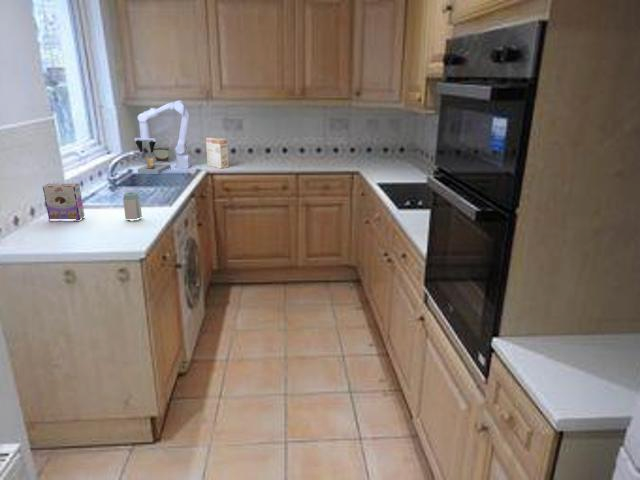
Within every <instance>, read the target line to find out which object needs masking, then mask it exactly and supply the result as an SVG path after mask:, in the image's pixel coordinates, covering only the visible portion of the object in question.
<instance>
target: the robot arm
mask: <svg viewBox="0 0 640 480" xmlns="http://www.w3.org/2000/svg"><path fill="white" fill-rule="evenodd" d="M167 110H173V111H176V112H177V113H179V115H181V122H180V126H179V127H180V129H179V135H178V141H177V144H176V147H175V148H174V151H175V159H176V166H174V168H175V169H176V168H177V169H190V168H191V167H193V165H192V155H191V154H188V153H187V135H188V129H189V124H190V123H189V122H190V115H191V113H190V112H189V109H188V106H187V104H186V103H185V102H184V101H183V100H181V99H179V100H176V101H172V102H168V103H166V104H164V105H162V106H161V107H158V108H156V107H151V108H149V109H148V110H146V111H145V110H144V111H143V112H141V113H139V114H137V120H138V123H139V124H138V125H139V134H140V137H135V138H134V137H133V138H134V141H135V145H137V147H138V149H139V152H140V153H143V151H144V150H143V143H144V142H148V144H149V149H150V153H154V151H153V149H154V147H155V145H156V143H157V138H151V136H150V127H149V121H150V120H152V119H155V118H157V117H159V114H161V113H163V112H166V111H167Z"/></svg>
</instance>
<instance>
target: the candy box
mask: <svg viewBox="0 0 640 480" xmlns="http://www.w3.org/2000/svg"><path fill="white" fill-rule="evenodd" d="M80 187H81V186H80V183H79V182H78V183H47V184H45V185H43V186H42V191H43V196H44V200H45V206H46V210H47V216H48V217H47V218H48V220H49V219H76V220H80V219H81V218H83V217H84V216H85V209H84V204H83V199H82V192H81V188H80Z"/></svg>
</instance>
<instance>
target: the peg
mask: <svg viewBox="0 0 640 480" xmlns="http://www.w3.org/2000/svg"><path fill="white" fill-rule="evenodd" d="M154 164H155V163H154V157H147V158H146V166H147V165H148V169H154Z"/></svg>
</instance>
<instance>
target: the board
mask: <svg viewBox="0 0 640 480" xmlns="http://www.w3.org/2000/svg"><path fill="white" fill-rule="evenodd" d="M169 168H170V169H171V164H162V163H159V164H158V163H154V169H148V165H147V164H146V165H144V166H142V167H140V168H137V173H138V174H155V175H159V174H161V173H163V172H162V171H164V170H166V169H168V170H170V169H169ZM166 171H167V170H166ZM164 172H165V171H164Z"/></svg>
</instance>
